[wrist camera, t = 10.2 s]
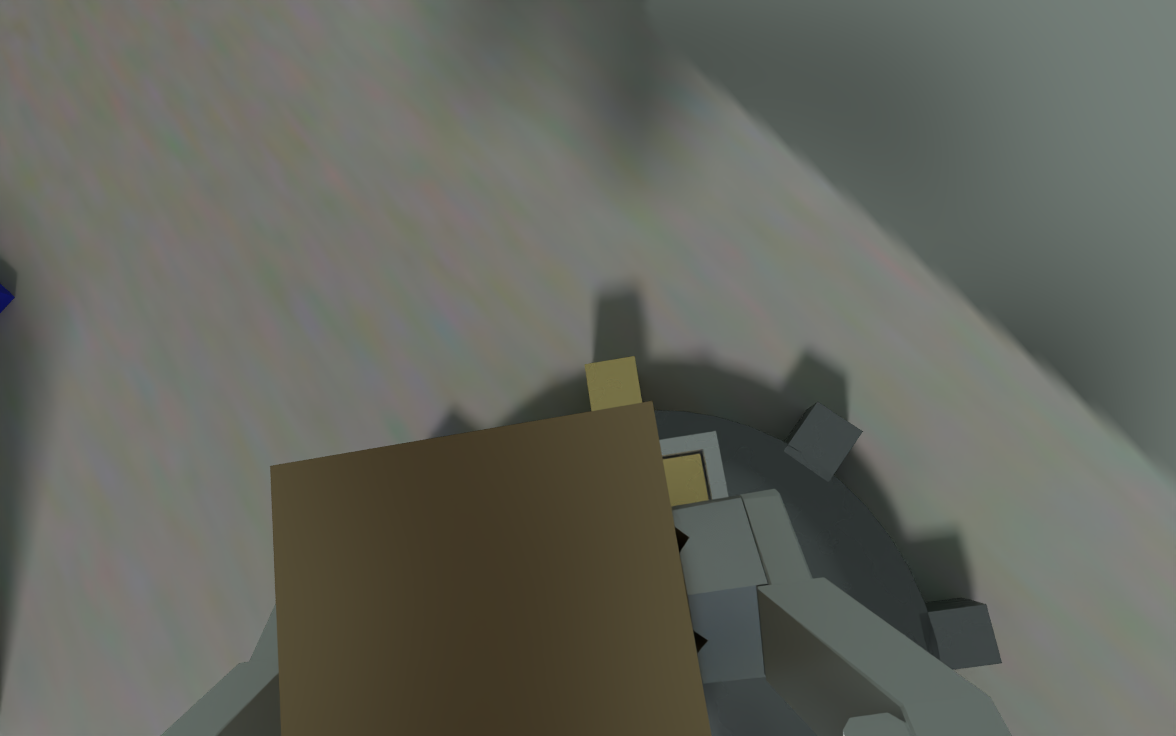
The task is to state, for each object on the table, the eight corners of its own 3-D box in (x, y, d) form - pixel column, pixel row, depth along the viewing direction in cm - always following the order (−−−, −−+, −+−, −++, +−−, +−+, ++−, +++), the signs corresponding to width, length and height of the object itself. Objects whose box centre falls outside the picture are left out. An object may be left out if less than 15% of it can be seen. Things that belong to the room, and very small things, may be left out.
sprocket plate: (892, 329, 29) (918, 308, 26) (1064, 988, 23) (1121, 1056, 20) (352, 419, 30) (319, 408, 28) (395, 1053, 25) (360, 1124, 22)
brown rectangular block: (663, 463, 14) (652, 400, 7) (698, 663, 13) (732, 858, 6) (481, 493, 15) (270, 465, 7) (503, 689, 14) (286, 909, 6)
